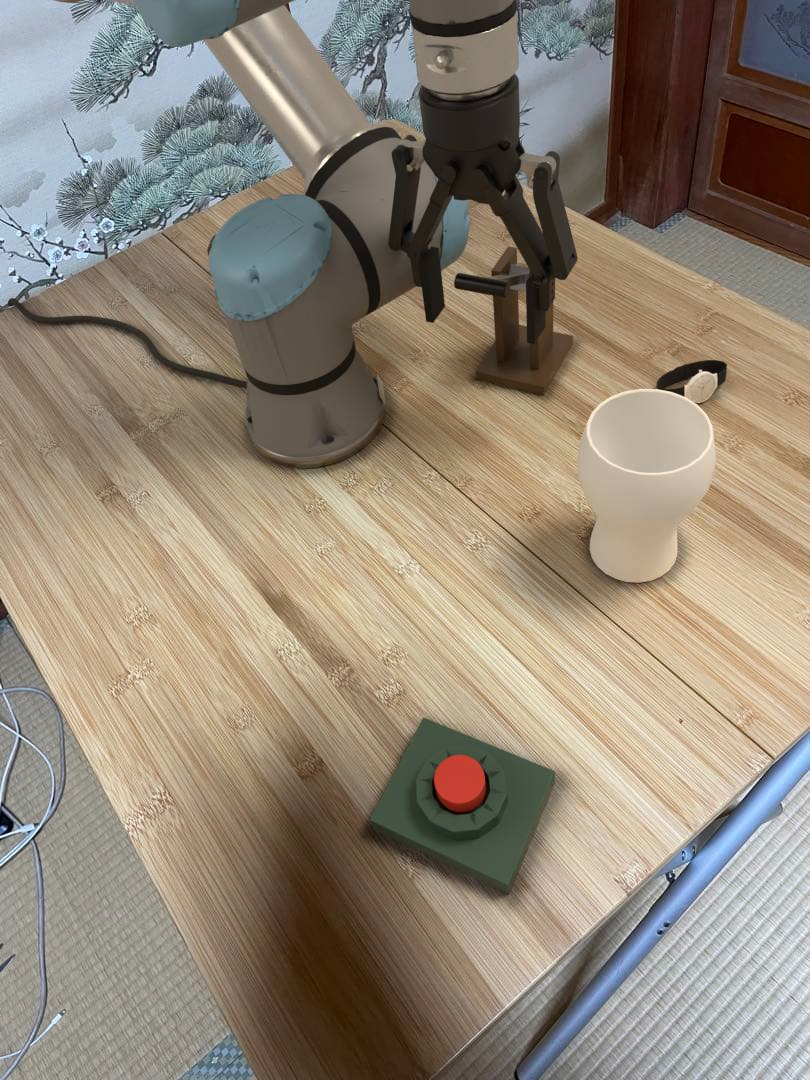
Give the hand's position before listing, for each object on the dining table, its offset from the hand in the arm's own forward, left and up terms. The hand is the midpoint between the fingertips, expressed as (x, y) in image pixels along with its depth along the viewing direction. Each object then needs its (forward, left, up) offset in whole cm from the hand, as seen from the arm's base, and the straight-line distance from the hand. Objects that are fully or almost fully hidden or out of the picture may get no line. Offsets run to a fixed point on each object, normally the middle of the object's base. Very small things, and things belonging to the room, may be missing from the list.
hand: (484, 324), depth 79 cm
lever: (0, +4, 0) cm, 4 cm away
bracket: (0, +9, -12) cm, 15 cm away
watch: (+18, +10, -12) cm, 24 cm away
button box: (+15, -40, -12) cm, 44 cm away
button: (+15, -40, -9) cm, 43 cm away
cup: (+19, -12, -12) cm, 25 cm away
